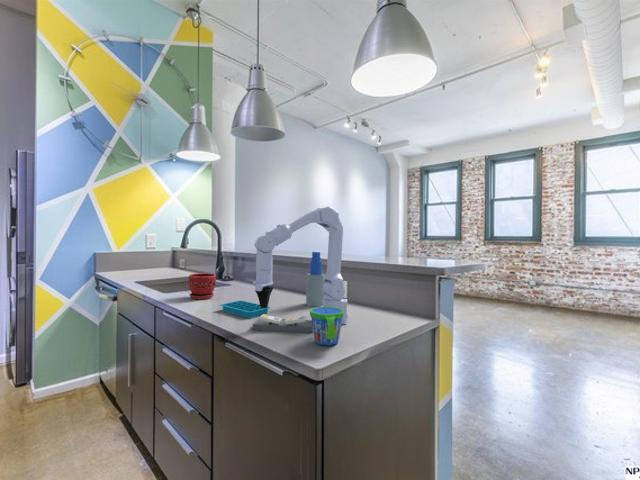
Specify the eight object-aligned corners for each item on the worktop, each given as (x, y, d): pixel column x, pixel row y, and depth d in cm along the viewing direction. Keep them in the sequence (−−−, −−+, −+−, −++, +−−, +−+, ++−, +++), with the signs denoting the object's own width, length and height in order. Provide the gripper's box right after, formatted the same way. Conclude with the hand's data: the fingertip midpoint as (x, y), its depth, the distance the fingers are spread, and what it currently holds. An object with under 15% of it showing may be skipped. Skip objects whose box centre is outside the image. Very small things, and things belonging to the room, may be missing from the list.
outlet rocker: (281, 321, 113) (281, 318, 113) (278, 324, 109) (279, 321, 109) (262, 316, 114) (263, 313, 114) (259, 319, 110) (260, 316, 110)
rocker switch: (306, 318, 112) (306, 315, 112) (305, 321, 108) (304, 318, 108) (287, 321, 113) (287, 318, 113) (285, 324, 109) (284, 321, 109)
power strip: (314, 325, 116) (314, 318, 116) (311, 332, 108) (312, 324, 108) (259, 323, 118) (259, 315, 118) (252, 329, 110) (252, 321, 110)
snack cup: (309, 334, 106) (309, 304, 106) (340, 334, 107) (340, 304, 107) (309, 351, 91) (310, 316, 91) (346, 351, 91) (346, 316, 91)
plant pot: (199, 301, 152) (199, 277, 152) (183, 298, 160) (183, 274, 159) (221, 297, 163) (221, 274, 163) (205, 294, 171) (205, 272, 170)
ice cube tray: (240, 306, 145) (240, 300, 145) (271, 314, 133) (271, 306, 133) (218, 311, 136) (218, 304, 136) (249, 320, 123) (249, 312, 123)
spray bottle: (302, 304, 149) (303, 251, 148) (313, 301, 156) (314, 251, 156) (317, 307, 144) (318, 252, 143) (328, 304, 151) (329, 251, 150)
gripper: (259, 267, 119) (259, 302, 119) (246, 271, 105) (246, 312, 105) (277, 267, 118) (277, 303, 119) (267, 272, 104) (266, 313, 104)
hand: (264, 307), depth 112 cm, fingers closed
